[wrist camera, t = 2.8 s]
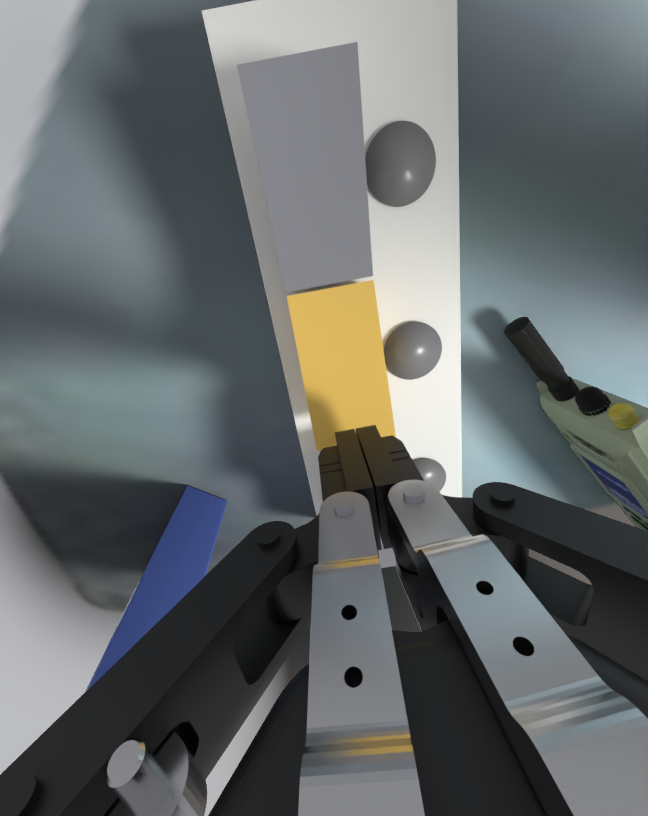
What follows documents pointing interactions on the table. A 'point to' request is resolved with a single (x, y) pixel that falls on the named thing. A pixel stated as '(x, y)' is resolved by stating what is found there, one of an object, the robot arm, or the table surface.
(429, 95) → the power strip
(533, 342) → the handheld radio
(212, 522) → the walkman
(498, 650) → the robot arm
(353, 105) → the grey flat block
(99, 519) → the table surface
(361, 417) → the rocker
